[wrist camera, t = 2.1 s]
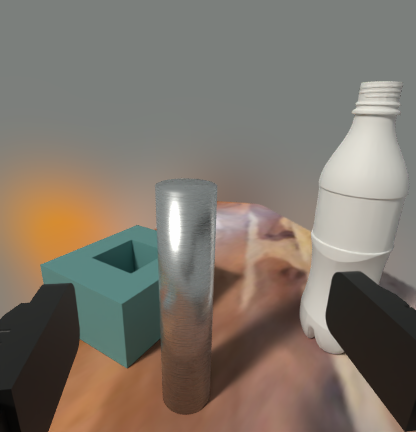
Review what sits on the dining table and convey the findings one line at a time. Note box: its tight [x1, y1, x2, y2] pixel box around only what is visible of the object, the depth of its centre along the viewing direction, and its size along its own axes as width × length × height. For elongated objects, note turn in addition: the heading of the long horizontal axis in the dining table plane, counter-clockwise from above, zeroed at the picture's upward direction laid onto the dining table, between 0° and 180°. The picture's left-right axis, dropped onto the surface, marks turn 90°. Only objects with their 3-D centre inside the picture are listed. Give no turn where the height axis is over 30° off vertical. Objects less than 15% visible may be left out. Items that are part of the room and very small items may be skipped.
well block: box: [40, 225, 161, 368], centre depth 35 cm, size 14×12×7 cm
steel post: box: [155, 179, 217, 415], centre depth 23 cm, size 4×4×18 cm
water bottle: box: [300, 81, 409, 354], centre depth 28 cm, size 7×7×25 cm
